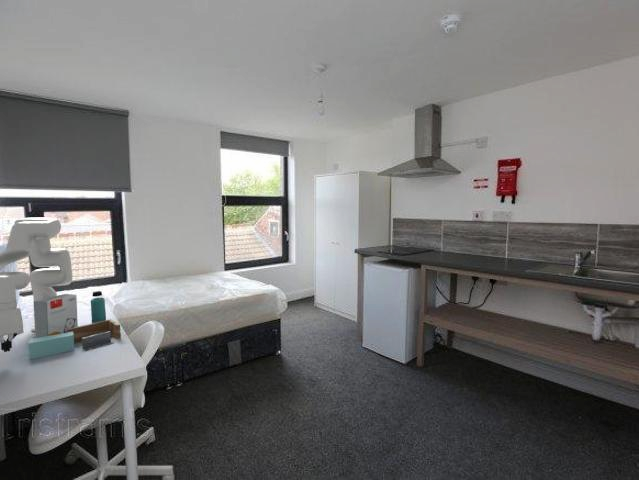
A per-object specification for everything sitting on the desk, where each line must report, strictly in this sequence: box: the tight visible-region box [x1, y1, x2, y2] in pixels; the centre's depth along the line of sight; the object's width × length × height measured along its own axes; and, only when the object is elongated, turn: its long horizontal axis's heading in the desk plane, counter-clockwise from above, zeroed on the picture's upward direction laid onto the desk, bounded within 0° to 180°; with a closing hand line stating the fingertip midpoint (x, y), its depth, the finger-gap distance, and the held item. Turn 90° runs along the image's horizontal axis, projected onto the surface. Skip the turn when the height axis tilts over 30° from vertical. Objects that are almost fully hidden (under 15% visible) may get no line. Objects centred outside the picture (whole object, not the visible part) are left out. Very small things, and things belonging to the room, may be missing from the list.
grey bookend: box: [81, 331, 115, 352], centre depth 149 cm, size 5×11×4 cm, turn 141°
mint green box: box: [27, 332, 75, 360], centre depth 141 cm, size 6×15×7 cm, turn 129°
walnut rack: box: [67, 319, 122, 344], centre depth 154 cm, size 12×18×7 cm
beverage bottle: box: [89, 290, 107, 324], centre depth 169 cm, size 6×7×20 cm
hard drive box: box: [33, 293, 79, 339], centre depth 158 cm, size 16×8×20 cm, turn 168°
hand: (6, 350), depth 130 cm, fingers closed
